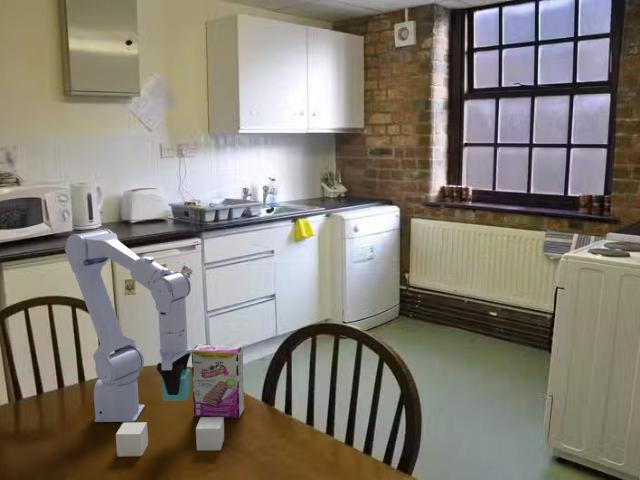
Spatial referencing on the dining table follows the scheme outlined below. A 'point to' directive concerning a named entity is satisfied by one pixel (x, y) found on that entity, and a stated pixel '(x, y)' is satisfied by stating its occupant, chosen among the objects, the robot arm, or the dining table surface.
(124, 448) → the offwhite block
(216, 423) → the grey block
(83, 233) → the robot arm
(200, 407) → the candy bar box
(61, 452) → the dining table surface
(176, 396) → the teal block
